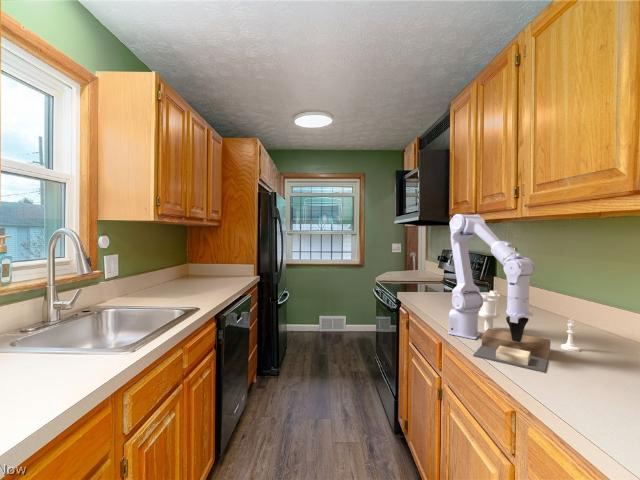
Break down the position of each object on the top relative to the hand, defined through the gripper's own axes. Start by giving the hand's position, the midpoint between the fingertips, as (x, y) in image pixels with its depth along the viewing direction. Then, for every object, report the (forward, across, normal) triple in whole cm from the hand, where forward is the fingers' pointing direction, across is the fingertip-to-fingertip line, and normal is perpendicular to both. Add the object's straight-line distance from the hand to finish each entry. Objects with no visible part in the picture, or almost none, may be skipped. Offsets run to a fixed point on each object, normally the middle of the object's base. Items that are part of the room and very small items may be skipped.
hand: (516, 340), depth 101 cm
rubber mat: (+4, -5, +1) cm, 7 cm away
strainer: (+4, +22, +12) cm, 25 cm away
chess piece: (+4, +17, -13) cm, 22 cm away
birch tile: (+2, -6, 0) cm, 6 cm away
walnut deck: (+4, +6, +1) cm, 7 cm away
